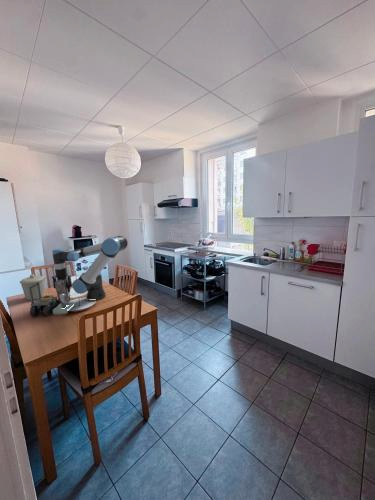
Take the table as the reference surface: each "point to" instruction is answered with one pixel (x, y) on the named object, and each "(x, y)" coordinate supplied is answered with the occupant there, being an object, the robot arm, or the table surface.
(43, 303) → the trolley
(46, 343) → the table surface
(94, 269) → the robot arm
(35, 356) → the table surface
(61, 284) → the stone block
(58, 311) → the tray
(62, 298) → the pin
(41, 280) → the canister
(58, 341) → the table surface
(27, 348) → the table surface
